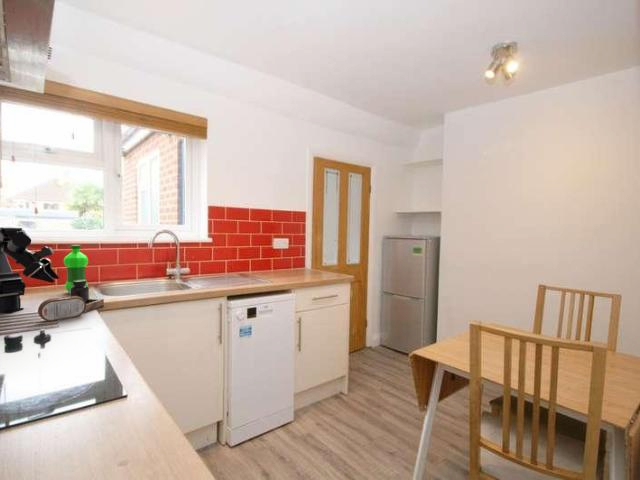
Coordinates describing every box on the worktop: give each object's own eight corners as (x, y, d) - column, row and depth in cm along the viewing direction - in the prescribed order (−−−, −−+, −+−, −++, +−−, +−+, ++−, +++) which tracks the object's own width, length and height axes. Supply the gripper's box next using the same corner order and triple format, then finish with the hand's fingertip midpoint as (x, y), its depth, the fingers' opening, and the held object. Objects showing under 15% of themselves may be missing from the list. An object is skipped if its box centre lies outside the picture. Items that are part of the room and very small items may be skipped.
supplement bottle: (67, 309, 141) (66, 281, 140) (74, 305, 148) (73, 279, 147) (85, 309, 143) (85, 281, 142) (92, 305, 149) (91, 278, 149)
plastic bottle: (86, 293, 172) (85, 245, 171) (61, 295, 168) (60, 246, 167) (90, 290, 181) (90, 244, 180) (67, 291, 177) (66, 244, 176)
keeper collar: (82, 313, 138) (82, 306, 138) (54, 312, 139) (54, 305, 139) (103, 305, 151) (103, 299, 150) (77, 304, 151) (77, 298, 151)
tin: (84, 314, 137) (84, 294, 137) (87, 315, 135) (87, 295, 135) (37, 322, 126) (37, 300, 125) (39, 323, 124) (39, 301, 123)
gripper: (32, 241, 128) (68, 268, 134) (44, 239, 145) (75, 263, 151) (6, 263, 125) (44, 289, 131) (21, 258, 141) (54, 281, 147)
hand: (56, 280), depth 140 cm, fingers open, 9 cm apart
